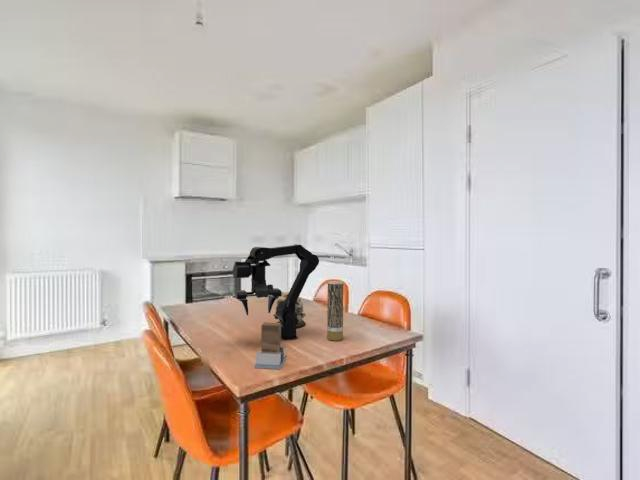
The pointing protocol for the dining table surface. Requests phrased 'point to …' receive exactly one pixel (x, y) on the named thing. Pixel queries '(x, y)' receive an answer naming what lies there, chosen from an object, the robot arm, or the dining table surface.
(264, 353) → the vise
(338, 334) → the paper tube
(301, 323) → the owl figurine
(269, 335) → the walnut slab
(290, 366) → the dining table surface
